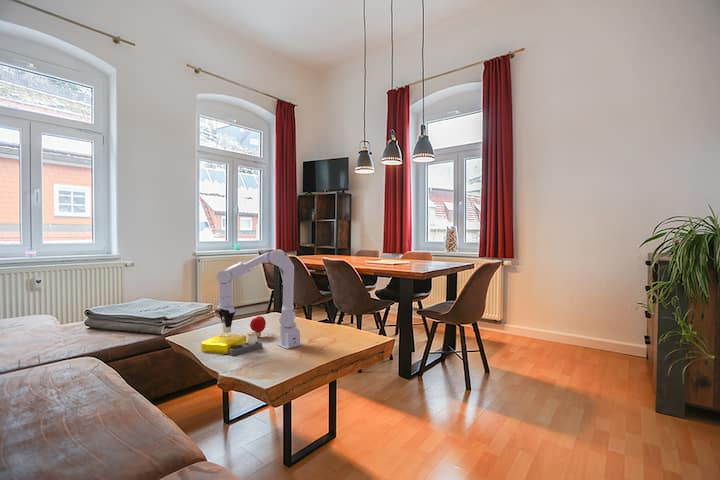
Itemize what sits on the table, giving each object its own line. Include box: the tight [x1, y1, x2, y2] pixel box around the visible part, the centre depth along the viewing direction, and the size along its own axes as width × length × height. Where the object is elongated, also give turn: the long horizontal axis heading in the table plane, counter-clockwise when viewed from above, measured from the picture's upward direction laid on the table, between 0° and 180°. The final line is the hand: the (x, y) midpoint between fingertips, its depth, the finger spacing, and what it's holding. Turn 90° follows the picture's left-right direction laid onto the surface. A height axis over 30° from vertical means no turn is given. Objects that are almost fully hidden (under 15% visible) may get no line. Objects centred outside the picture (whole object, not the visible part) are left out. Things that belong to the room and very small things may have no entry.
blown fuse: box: [221, 317, 232, 334], centre depth 162 cm, size 4×4×7 cm
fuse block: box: [227, 339, 263, 357], centre depth 158 cm, size 6×14×2 cm, turn 131°
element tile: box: [200, 333, 248, 355], centre depth 163 cm, size 15×15×5 cm
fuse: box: [246, 331, 257, 346], centre depth 160 cm, size 4×4×7 cm
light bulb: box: [249, 315, 267, 338], centre depth 177 cm, size 9×7×10 cm
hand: (226, 325), depth 162 cm, fingers closed on blown fuse, 4 cm apart
